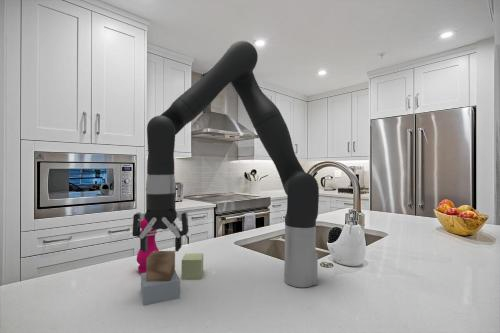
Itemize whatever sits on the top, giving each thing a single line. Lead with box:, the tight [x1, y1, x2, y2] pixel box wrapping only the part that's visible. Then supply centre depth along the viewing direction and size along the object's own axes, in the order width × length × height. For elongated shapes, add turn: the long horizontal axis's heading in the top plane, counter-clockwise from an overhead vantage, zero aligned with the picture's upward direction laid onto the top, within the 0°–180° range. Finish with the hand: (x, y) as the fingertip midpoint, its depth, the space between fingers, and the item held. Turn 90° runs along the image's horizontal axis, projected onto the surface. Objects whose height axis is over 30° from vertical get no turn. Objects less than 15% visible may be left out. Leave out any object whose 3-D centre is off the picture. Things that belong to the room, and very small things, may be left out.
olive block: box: [180, 252, 204, 280], centre depth 85 cm, size 6×6×6 cm
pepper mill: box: [136, 218, 160, 275], centre depth 88 cm, size 7×7×20 cm
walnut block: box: [146, 250, 176, 281], centre depth 72 cm, size 6×6×6 cm
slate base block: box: [140, 270, 181, 306], centre depth 72 cm, size 9×9×5 cm
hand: (161, 251), depth 72 cm, fingers open, 8 cm apart
